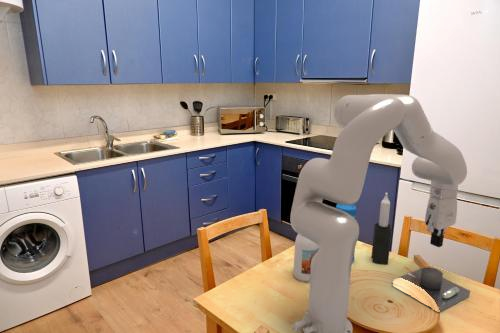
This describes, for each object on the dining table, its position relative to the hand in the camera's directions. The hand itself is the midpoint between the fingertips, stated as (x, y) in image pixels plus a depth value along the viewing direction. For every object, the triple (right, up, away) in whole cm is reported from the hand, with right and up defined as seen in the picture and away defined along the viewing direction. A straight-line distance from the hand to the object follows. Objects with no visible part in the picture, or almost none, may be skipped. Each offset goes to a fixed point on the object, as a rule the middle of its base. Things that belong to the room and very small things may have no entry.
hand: (436, 245), depth 113 cm
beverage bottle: (-29, -7, +8) cm, 31 cm away
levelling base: (-7, -12, -10) cm, 17 cm away
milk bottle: (-43, -10, -2) cm, 44 cm away
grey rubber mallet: (-7, -9, -7) cm, 13 cm away
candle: (-16, -7, +8) cm, 19 cm away
